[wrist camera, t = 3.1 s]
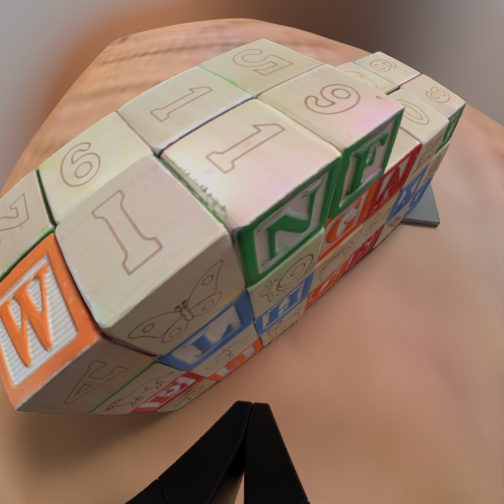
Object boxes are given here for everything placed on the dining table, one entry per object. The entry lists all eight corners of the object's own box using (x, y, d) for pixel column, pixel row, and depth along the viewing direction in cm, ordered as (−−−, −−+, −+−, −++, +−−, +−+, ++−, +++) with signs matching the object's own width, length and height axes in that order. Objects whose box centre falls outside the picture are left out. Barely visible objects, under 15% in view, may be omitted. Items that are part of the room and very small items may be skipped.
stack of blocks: (358, 152, 22) (387, 8, 12) (420, 201, 20) (488, 60, 9) (119, 328, 17) (-33, 224, 6) (175, 414, 15) (2, 413, 4)
